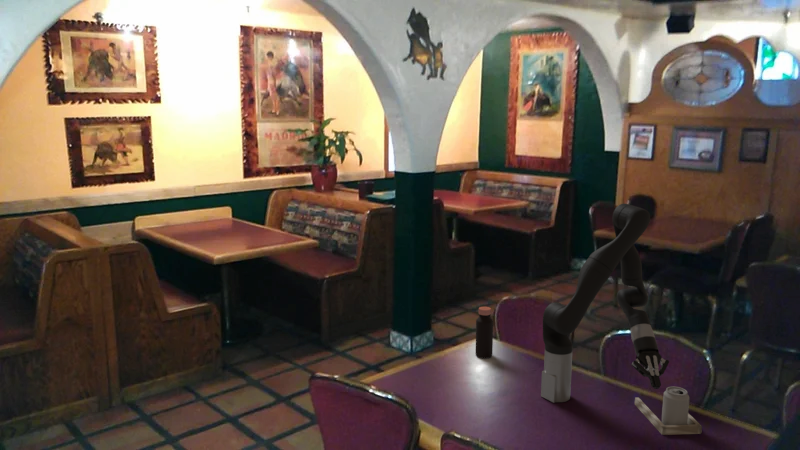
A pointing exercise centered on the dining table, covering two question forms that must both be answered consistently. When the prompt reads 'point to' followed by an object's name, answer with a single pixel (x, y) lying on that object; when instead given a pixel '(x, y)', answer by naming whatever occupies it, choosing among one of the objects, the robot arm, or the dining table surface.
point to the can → (675, 406)
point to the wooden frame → (691, 428)
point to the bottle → (484, 333)
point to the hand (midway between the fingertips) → (657, 387)
